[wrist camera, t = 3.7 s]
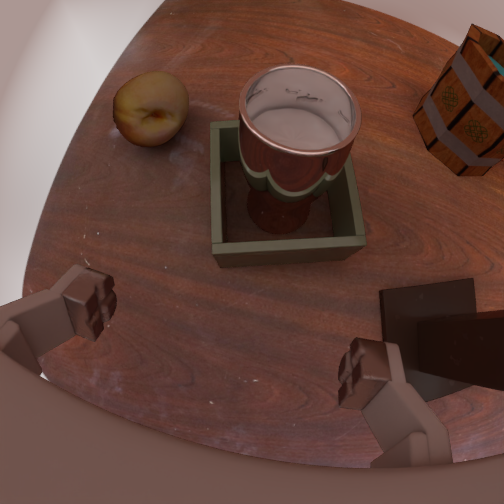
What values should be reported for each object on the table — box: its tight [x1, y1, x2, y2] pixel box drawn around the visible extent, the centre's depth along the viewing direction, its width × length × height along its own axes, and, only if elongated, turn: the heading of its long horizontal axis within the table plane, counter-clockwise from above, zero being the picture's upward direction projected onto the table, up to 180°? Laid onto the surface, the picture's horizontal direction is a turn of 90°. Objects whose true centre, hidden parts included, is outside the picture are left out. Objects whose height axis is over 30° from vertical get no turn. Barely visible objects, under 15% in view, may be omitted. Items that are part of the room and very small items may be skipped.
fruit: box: [113, 71, 189, 147], centre depth 27 cm, size 8×8×8 cm
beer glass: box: [238, 64, 362, 235], centre depth 22 cm, size 7×7×15 cm
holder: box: [210, 120, 367, 268], centre depth 26 cm, size 12×12×6 cm
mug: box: [413, 24, 504, 176], centre depth 24 cm, size 20×14×15 cm
